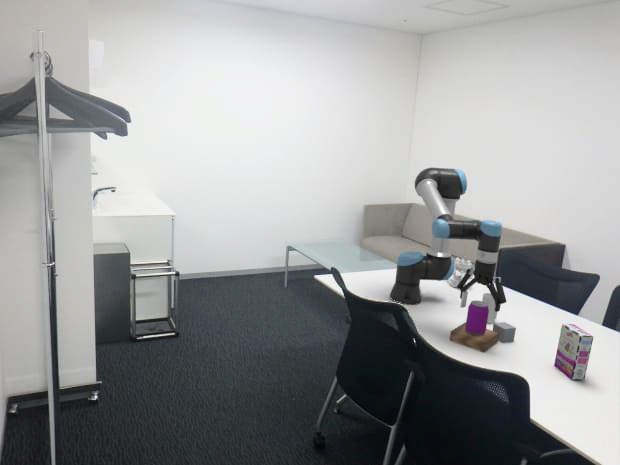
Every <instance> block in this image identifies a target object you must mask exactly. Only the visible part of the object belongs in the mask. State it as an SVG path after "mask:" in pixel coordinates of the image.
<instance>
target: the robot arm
mask: <svg viewBox="0 0 620 465" xmlns="http://www.w3.org/2000/svg"><path fill="white" fill-rule="evenodd" d="M467 187H468V180H467V176H466V174H465V172H464V171H463V170H461V169H455V168H448V167H447V168H443V167H428V168H425V169H422V170H420V172H419V173H418V174H417V176H416V177H415V180H414V190H415V192H416V194H417V195H418V196H419V197H421V199H422V201H423V203H424V205H425V207H426V209H427V211H428V213H429V215H430V217H431V219H432V223H431V239H430V240H431V241H430V248H429V249H428V250H426V253H425V254H426V255H424V253H422V252H421V251H413V250H411V251H405V252H401V253H400V254H398V258H397V262H396V270H395V271H396V274H395V281H394V284H393V286H392V289H391V291H390V293H389V298H390V297H391V298H392V299H393V300H395V301H398V302H397V303H398V304H404V305H410V304H411V305H418V304H421V303H422V298H423V296H422V294H421V287H420V284H421V281H422V280H423V281H438V282H440V281H447V280H450V279H451V278H452V277H453V275H452V274H453V271H454V262H455V259H454V258H453V257H452V253H451V252H450V251H449V250H450V242H451V240H467V241H468V240H470V241H471V240H472V241H476V242H478V244H477V248H476V249H477V250H476V256H475V257H476V258H475V259H476V260H475V263H474V269H473V268H472V267H471V268H470V269H467V271H466V274H465V276H464V277H463V278H462V280H461V281H460V283H459V284H458V286H457V287H456V288H457V289H458V290H460V293H459V294H460V295H459V298H460V299H461V300H460V307H459V308H461V309H463V308H466V306H467V300H468V296H469V291H468V289H470V288H471V287H472V286H473V285H475V284H481V285H483V286H486V288H487V289H488V290H489V293H491V295H492V297H493V299H494V301H495V303H493V308H492V314H491V319H492V320H493V319H495V320H496V319H497V317H498V316H497V315H498V312H500V310H501V305H502V304H506V303H507V299H506V295H505V291H504V287H503V284H502V283H503V282H502V277H501V276H498V277H497V276H495V272H496V266H497V263H496V262H497V261H498V254H499V249H500V242H501V237H502V234H503V232H502V231H503V230H502V229H503V225H502V223H501V222H500V221H495V220H490V219H489V220H482V221H481V220H480V219H474V218H473V219H470V220H460V219H459V220H458V219H454V218H455V211H456V210H455V209H456V204H457V202H459V201H460V199H461V196H463V195H465V194H466V192H467V189H468V188H467ZM472 274H473V277H472V279H469V278H470V276H471V275H472ZM468 279H469V280H468ZM465 284H466V285H465ZM464 285H465V286H464ZM463 286H464V287H463ZM393 300H392V301H393ZM395 301H394V302H395ZM399 302H401V303H399Z"/></svg>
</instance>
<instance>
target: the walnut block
mask: <svg viewBox="0 0 620 465" xmlns="http://www.w3.org/2000/svg"><path fill="white" fill-rule="evenodd" d="M498 337H499V333H498V332H495V331H493V329H492V330H491V329H488V328H486V332H485V333H484V334H482V335H474V334H471V333H469V332H468V331H467V330H466V321H465V322H464V323H462V324H460V325H458V326H457V327H455V328H453V329H452V330H451V331H450V337H449V341H451V342H454V343H457V344H459V345H462V346H465V347H467V348H469V349H470V348H471V349H472V350H473V349H474V350H476V351H479V352H481V353H485V352H488V350H489V349H491V348H492V347H494V346H495V345H496V344H497V343H499V341H498Z"/></svg>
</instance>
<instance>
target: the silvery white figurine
mask: <svg viewBox="0 0 620 465" xmlns="http://www.w3.org/2000/svg"><path fill="white" fill-rule="evenodd" d="M472 266H473V263H472V260H470V259H467V260H466V259H465V257H463V258H461V257H460V258H459V257H458V256H457V257H456V258H455V259H454V271H453V274H452V277H450V279H448V280H446V282H448V283H449V284H450V285H451V286H452V287H454V288H457V286H458V284H459V283H460V281H461V280H462V278H463V277H464V276H465V274H466V271H467V269H470V268H472ZM473 278H474V275H473V274H472V275H471V276H470V278H469V279H468V280H467V281H470V280H472V279H473ZM466 284H467V283H465V285H466ZM465 285H464V286H465ZM464 286H463V287H464Z"/></svg>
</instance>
